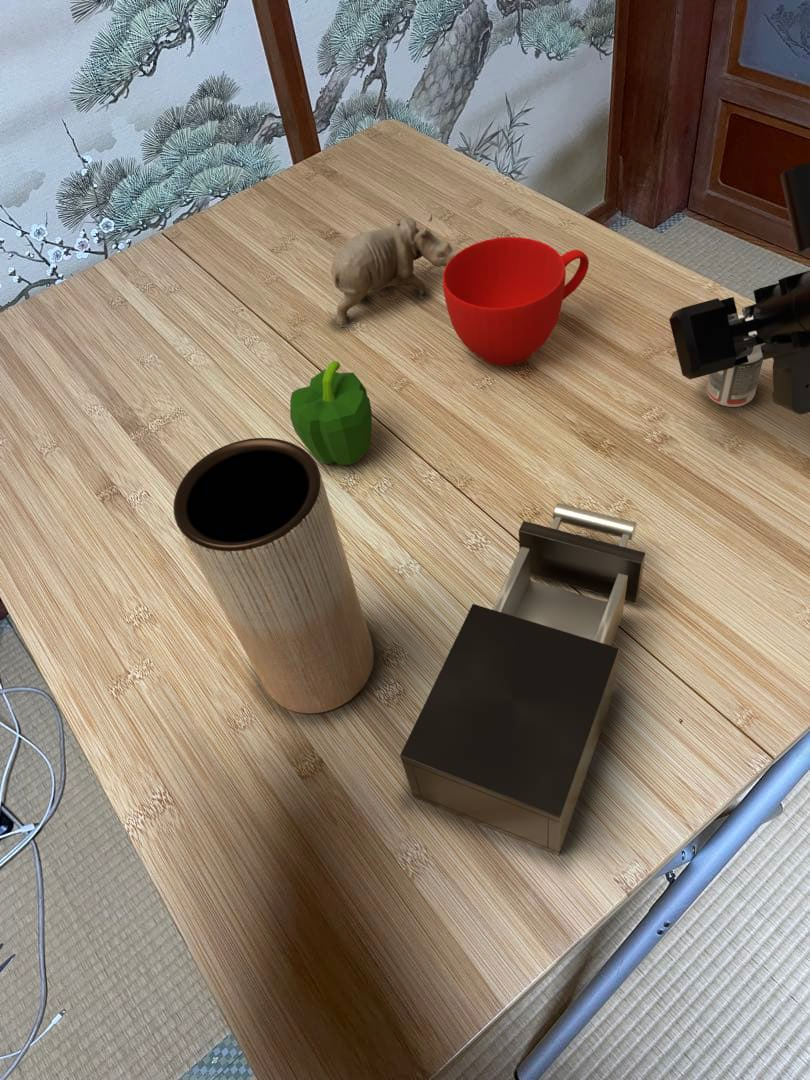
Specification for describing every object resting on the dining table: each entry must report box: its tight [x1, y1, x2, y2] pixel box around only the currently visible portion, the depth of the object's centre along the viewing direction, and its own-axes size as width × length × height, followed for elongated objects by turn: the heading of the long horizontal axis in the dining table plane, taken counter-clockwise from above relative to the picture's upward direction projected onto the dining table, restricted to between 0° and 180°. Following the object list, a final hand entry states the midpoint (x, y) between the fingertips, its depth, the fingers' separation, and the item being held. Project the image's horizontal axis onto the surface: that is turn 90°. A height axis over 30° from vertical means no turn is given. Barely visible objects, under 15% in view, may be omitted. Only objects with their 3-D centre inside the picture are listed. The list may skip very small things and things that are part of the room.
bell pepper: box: [289, 360, 373, 466], centre depth 85 cm, size 8×8×10 cm
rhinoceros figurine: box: [330, 214, 461, 328], centre depth 101 cm, size 8×14×15 cm
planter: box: [172, 437, 375, 714], centre depth 64 cm, size 10×10×23 cm
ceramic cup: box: [442, 236, 590, 367], centre depth 92 cm, size 13×17×10 cm
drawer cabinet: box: [399, 603, 620, 856], centre depth 63 cm, size 14×12×8 cm
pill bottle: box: [706, 314, 765, 408], centre depth 83 cm, size 5×5×8 cm
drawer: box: [492, 502, 646, 646], centre depth 69 cm, size 17×10×6 cm, turn 155°
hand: (734, 333), depth 82 cm, fingers closed on pill bottle, 4 cm apart
